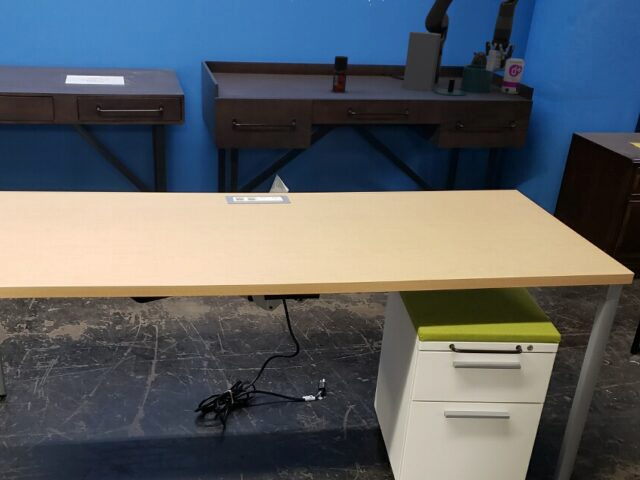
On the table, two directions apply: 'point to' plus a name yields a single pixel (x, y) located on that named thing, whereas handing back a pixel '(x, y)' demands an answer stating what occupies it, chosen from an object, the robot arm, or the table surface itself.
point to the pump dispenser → (479, 59)
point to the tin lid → (450, 90)
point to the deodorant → (340, 74)
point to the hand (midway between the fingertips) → (495, 67)
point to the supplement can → (512, 75)
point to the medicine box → (494, 61)
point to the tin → (476, 79)
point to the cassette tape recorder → (421, 60)
